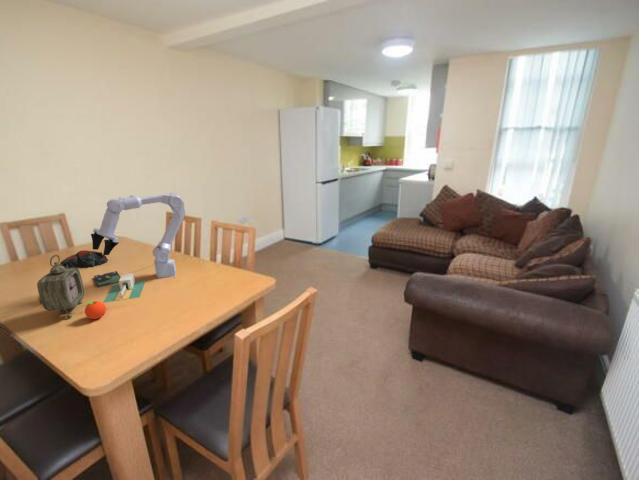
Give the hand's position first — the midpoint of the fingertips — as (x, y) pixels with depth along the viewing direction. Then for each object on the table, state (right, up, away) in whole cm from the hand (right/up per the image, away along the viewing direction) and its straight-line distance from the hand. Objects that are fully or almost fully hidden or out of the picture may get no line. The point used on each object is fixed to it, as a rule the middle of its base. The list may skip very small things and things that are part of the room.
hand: (100, 252), depth 143 cm
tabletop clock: (-3, -25, -15) cm, 29 cm away
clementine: (+12, -26, -19) cm, 34 cm away
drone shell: (-35, -8, +38) cm, 52 cm away
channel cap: (+9, -17, +6) cm, 20 cm away
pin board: (+11, -19, +2) cm, 22 cm away
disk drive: (-6, -16, +14) cm, 22 cm away
